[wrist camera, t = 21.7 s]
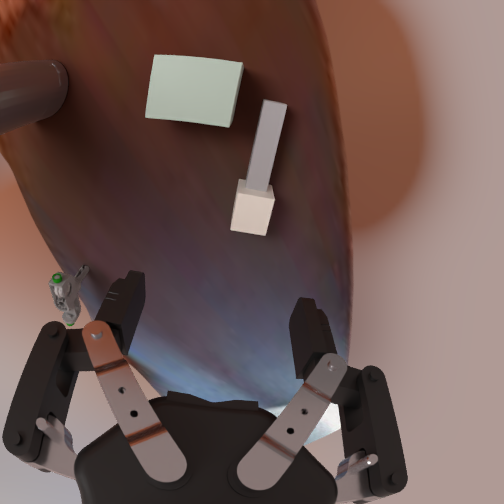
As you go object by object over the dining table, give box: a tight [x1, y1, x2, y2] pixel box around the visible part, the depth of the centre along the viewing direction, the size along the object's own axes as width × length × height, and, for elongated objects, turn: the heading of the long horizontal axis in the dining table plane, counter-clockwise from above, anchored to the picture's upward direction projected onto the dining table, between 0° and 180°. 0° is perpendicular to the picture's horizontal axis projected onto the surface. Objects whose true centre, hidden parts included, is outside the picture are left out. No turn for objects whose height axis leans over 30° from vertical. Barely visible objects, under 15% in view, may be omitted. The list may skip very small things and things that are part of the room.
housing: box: [145, 55, 244, 127], centre depth 27 cm, size 7×9×6 cm
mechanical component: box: [49, 265, 89, 326], centre depth 40 cm, size 3×10×10 cm, turn 168°
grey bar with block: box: [230, 99, 287, 236], centre depth 33 cm, size 17×4×5 cm, turn 169°
